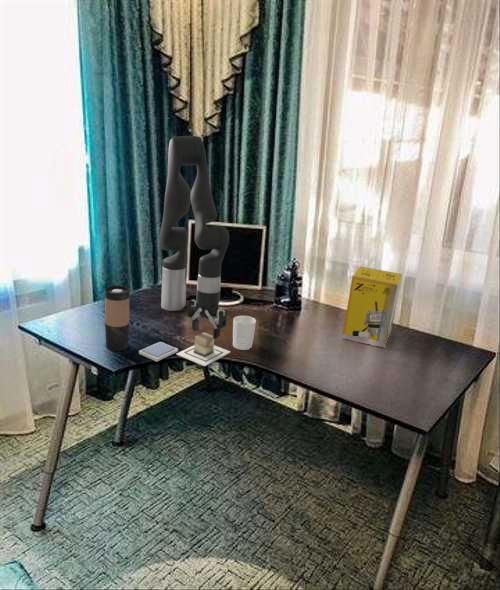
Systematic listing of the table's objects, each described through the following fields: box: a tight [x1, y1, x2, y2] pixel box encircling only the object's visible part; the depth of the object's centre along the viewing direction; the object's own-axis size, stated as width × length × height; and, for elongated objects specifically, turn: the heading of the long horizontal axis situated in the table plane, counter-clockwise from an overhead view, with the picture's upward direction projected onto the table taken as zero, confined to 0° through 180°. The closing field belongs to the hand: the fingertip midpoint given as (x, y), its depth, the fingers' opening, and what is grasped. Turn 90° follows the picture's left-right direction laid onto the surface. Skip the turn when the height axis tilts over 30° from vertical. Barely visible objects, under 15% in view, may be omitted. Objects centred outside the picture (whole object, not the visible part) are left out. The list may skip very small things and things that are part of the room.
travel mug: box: [104, 285, 130, 352], centre depth 159 cm, size 8×8×20 cm
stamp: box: [193, 332, 215, 357], centre depth 162 cm, size 5×5×6 cm
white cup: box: [232, 315, 257, 351], centre depth 170 cm, size 8×8×10 cm
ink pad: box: [138, 341, 179, 363], centre depth 161 cm, size 10×8×1 cm
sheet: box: [175, 344, 231, 367], centre depth 163 cm, size 14×12×1 cm
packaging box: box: [342, 266, 404, 344], centre depth 186 cm, size 16×16×25 cm
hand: (205, 334), depth 161 cm, fingers open, 8 cm apart
